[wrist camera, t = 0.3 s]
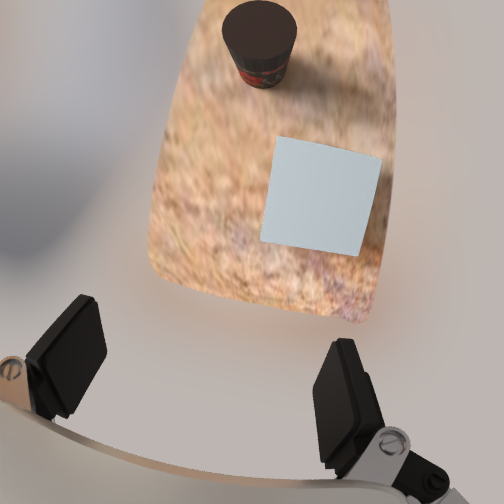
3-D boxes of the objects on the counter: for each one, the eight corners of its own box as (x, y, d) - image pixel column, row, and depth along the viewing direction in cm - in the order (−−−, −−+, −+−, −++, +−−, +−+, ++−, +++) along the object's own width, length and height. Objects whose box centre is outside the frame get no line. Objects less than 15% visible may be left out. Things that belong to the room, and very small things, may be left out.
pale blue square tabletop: (275, 135, 34) (277, 135, 28) (362, 154, 35) (382, 159, 28) (261, 222, 39) (260, 241, 33) (344, 236, 39) (357, 256, 33)
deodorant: (294, 75, 31) (311, 39, 17) (254, 96, 33) (247, 72, 19) (269, 40, 29) (270, -10, 15) (230, 62, 31) (208, 21, 17)
